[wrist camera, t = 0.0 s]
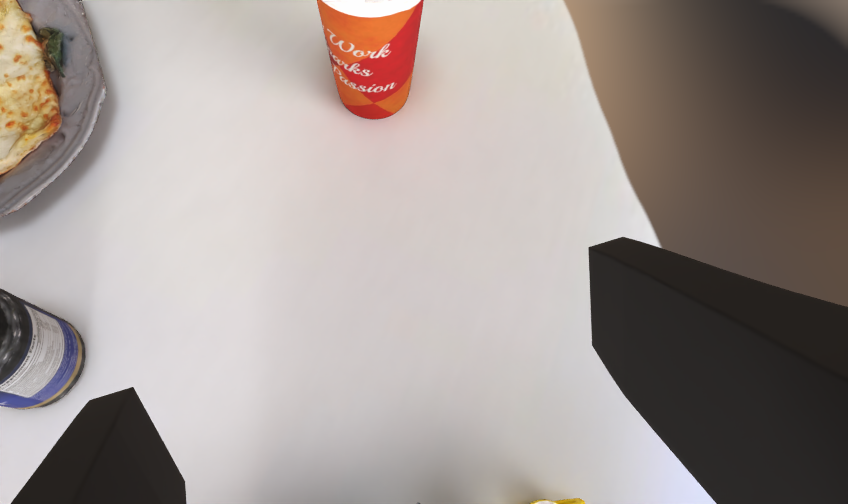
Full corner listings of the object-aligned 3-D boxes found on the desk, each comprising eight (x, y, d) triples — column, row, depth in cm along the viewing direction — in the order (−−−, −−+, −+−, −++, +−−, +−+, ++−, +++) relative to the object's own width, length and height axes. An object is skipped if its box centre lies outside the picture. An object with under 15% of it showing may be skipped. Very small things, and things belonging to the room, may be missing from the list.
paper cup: (304, 88, 49) (273, -54, 36) (373, 33, 51) (368, -122, 38) (375, 151, 47) (370, 25, 34) (443, 90, 50) (463, -50, 36)
